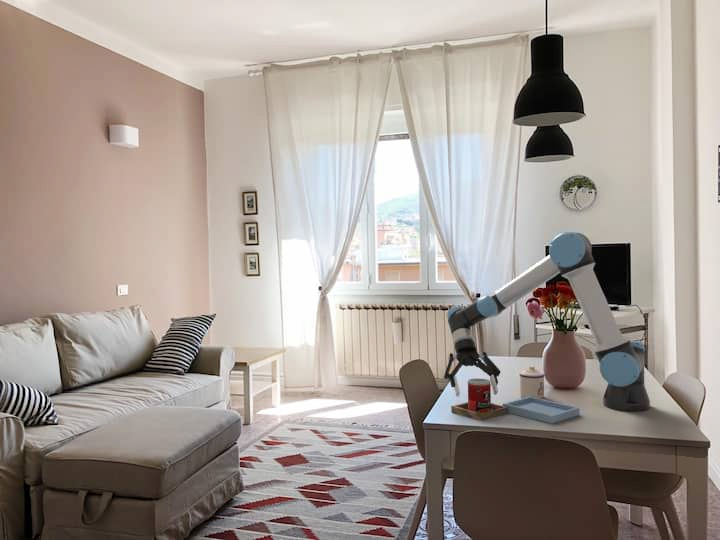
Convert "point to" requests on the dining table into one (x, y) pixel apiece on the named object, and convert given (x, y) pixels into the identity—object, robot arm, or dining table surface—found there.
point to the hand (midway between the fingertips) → (477, 393)
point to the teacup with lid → (532, 383)
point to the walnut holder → (495, 411)
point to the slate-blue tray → (541, 409)
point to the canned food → (479, 395)
